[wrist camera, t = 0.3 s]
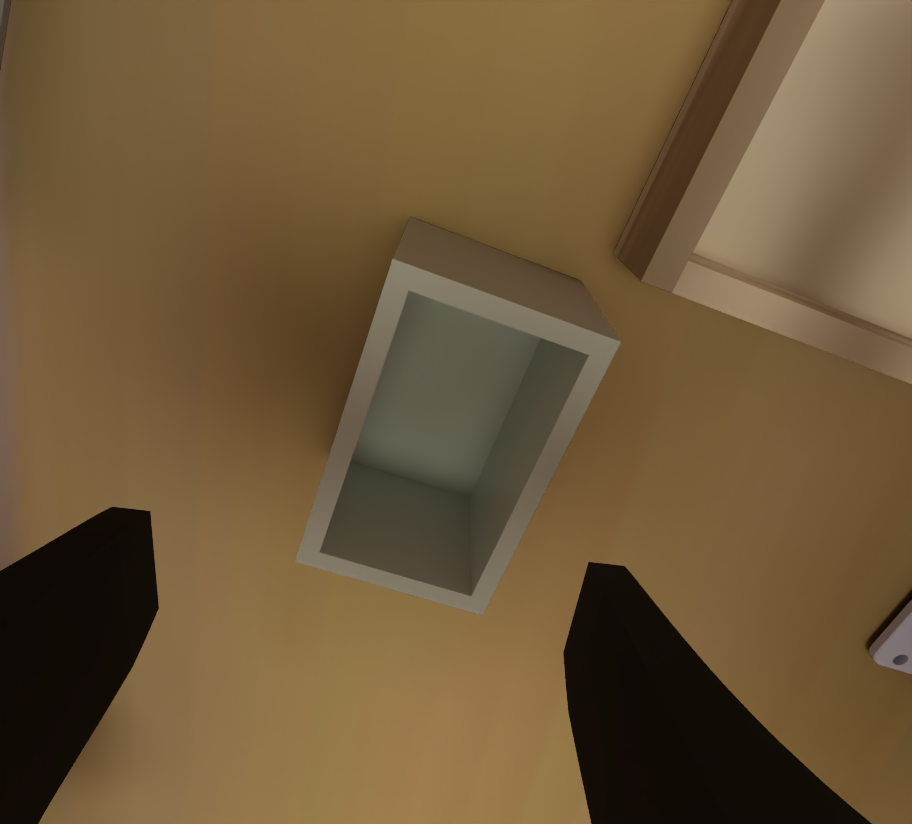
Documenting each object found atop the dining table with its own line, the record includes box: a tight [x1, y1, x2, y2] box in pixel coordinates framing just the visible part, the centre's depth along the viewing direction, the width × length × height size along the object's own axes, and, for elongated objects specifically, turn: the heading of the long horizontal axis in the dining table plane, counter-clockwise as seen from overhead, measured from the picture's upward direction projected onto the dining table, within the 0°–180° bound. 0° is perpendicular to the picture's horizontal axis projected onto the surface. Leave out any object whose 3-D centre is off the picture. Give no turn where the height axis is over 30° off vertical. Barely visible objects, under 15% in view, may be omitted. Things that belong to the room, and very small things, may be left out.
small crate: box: [295, 217, 621, 616], centre depth 17 cm, size 5×8×5 cm, turn 160°
